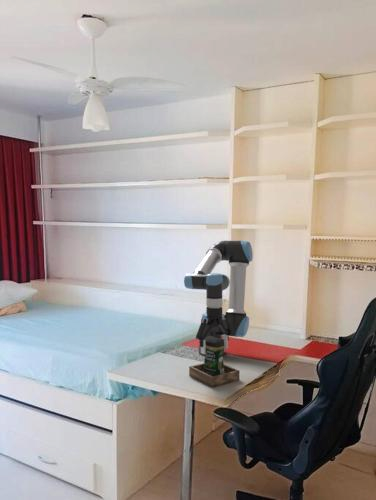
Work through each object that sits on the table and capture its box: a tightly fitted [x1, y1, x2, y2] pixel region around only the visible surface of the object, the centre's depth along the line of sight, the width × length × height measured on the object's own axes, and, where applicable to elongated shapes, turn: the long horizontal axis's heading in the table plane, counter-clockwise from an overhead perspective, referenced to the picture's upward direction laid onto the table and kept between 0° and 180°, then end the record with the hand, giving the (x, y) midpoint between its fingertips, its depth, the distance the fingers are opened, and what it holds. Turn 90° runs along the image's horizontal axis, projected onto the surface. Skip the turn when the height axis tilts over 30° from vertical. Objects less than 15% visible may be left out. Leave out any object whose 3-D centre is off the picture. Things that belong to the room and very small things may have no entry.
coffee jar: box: [203, 336, 225, 377], centre depth 192 cm, size 10×8×19 cm
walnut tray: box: [188, 362, 240, 389], centre depth 192 cm, size 16×18×4 cm
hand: (214, 350), depth 192 cm, fingers open, 13 cm apart
